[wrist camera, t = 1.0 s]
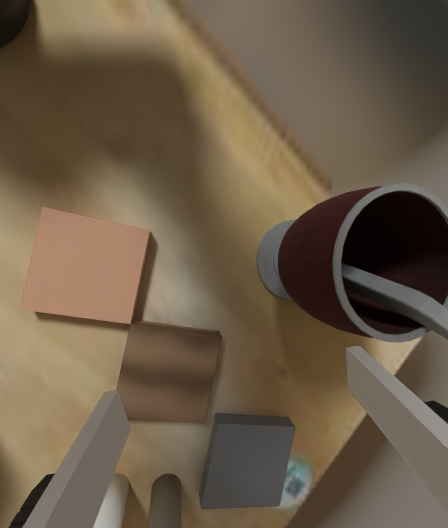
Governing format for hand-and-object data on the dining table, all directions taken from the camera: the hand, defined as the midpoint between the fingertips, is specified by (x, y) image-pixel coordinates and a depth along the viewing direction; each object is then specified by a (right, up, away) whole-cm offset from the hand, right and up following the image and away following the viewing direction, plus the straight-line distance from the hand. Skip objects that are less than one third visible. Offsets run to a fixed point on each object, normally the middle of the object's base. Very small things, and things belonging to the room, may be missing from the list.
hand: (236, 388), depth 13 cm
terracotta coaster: (-17, +7, +16) cm, 25 cm away
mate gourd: (+10, +7, +22) cm, 26 cm away
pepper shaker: (-9, -25, +19) cm, 32 cm away
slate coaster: (+3, -22, +21) cm, 31 cm away
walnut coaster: (-8, -8, +18) cm, 22 cm away
